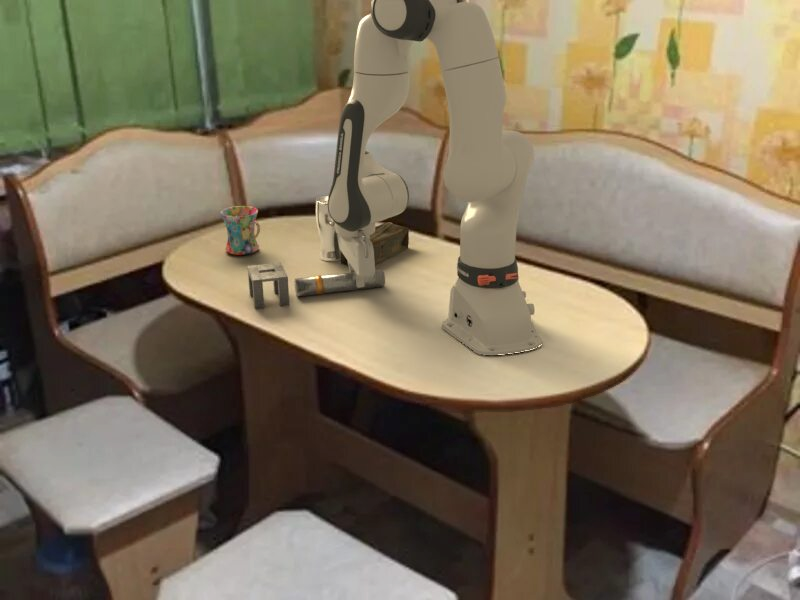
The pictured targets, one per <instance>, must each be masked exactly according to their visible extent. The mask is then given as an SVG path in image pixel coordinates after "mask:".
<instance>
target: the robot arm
mask: <svg viewBox="0 0 800 600" xmlns="http://www.w3.org/2000/svg"><path fill="white" fill-rule="evenodd" d="M424 40H428V41H429V42H430V43H432V44H433V46H434V48H435V50H436V53H437V56H438V63H439V67H440V71H441V77H442V81H443V86H444V93H445V96H446V102H447V106H448V107H447V108H448V117H449V136H448V137H449V139H448V141H449V142H448V145H449V146H448V156H447V159H446V162H445V164H444V168H443V173H442V175H443V183H444V185H445V188H446V190H447V191H448V193H449V194H450V195H451V196H452V197H453V198H454V199H456V200H458V201H460V202H463V203H467V206H466V207H465V208H466V209H465V211H464V213H463V214H462V218H461V221H460V237H459V238H460V239H459V240H460V241H459V243H460V245H459V256H458V258H457V263H456V271H457V272H456V273H457V274H456V275H457V280H456V282H455V283H454V284H453V286H452V287H451V289H450V295H449V305H448V317H447V319H445V320H444V321H442V322H441V328H442V329H443V330H444V331H445V332H446V333H448V335H451V336H452V337H453V338H455V339H456V340H458V342H460V343H461V342H462V343H461V344H463V345H464V344H465V345H466V346H465V345H464V346H465V347H467V346H468V347H469V348H470V349H469V348H468V347H467V348H468V349H469V350H471V349H472V350H473V351H472V350H471V351H472V352H474V353H475V352H476V353H478V354H483V355H482V356H485V354H486V355H498V354H508V353H515V352H521V351H525V350H530V349H533V348H536V347H538V346H539V345H541V344H542V345H543V339H542V338H541V336H540V334H539V332H538V330H537V328H536V327H535V325H534V323H533V322H532V317H531V316H533V315H535V305H534V303H532V302H531V303H527V300H526V297H527V292H526V291H523V290H522V288H521V284H520V283H519V266H518V262H517V261H518V260H517V258H516V244H517V243H516V242H517V229H518V228H517V227H518V219H519V215H520V210H521V206H522V201H523V197H524V195H525V194H524V192H525V188H526V184H527V180H528V175H529V172H530V171H531V168H532V166H533V164H534V160H535V150H534V147H533V144H532V142H531V141H530V139H529V138H528V137H527V136H526V135H525V134H524V133H521V131H517V130H510V129H509V130H508V129H507V130H506V129H505V130H504V129H503V127H504V126H503V125H504V124H503V123H504V122H503V121H504V113H505V112H504V111H505V106H506V104H507V93H506V87H505V83H504V81H505V80H504V78H503V72H502V67H501V62H500V57H499V52H498V48H497V44H496V40H495V37H494V34H493V30H492V27H491V25H490V22H489V20H488V16H487V15H486V12H485V10H484V9H483V8H482V7H481V6H480V5H479V4H476V3H474V2H468V1H463V0H371V4H370V13H369V14H367V15H365V16H364V17H362V18H361V19H360V21H359V23H358V26H357V30H356V36H355V44H354V51H353V52H354V55H353V82H352V87H351V92H350V95H349V98H348V100H347V103H346V104H345V105H344V107H343V109H342V111H341V114H340V119H339V125H338V133H337V142H336V151H335V159H334V167H333V168H334V169H333V178H332V183H331V186H330V190H329V193H328V196H329V197H328V211H329V214H330V217H331V218H332V220H333V221H334V223H335V229H336V233H337V237H338V244H339V248H340V250H341V252H342V253H343V255H344V256H345V257H346V259H347V260H348V265H347V266H348V270H349V273H350V272H355V273H356V278H355V284H356V286H357V287H358V288H360V287H364V285H365V284H364V280H365V277H372V276H374V274H375V270H376V266H375V265H376V264H375V261H374V249H373V245H372V242H371V241H370V240H369V239H370V235H371V234H373V233H374V232H375V227H376V223H379V222H383V221H385V220H387V219H389V218H392V217H397V216H398V215H400V214H403V213H404V212H405V210H406V209H407V207H408V205H409V201H410V192H409V187H408V185H407V182H406V181H405V179H404V178H403V177H402V176H401V175H400V174H398V173H396V172H394V171H393V172H392V171H390V170H388V169H386V168H385V167H383V166H382V165H380V164H379V163H378V162H377V161H376V160H375V158H374V157H373V155H372V153H371V152H368V151H367V150H366V148H367V144H368V141H369V139H370V137H371V135H372V134H373V133H374V132H375V130H377V128H379V126H381V124H383V123H385V121H386V120H389V119H390V118H391V117H392V116H394V115H395V114H397V113H398V112H399V111H400V109H402V107H403V106H404V105H405V103H406V101H407V98H408V95H409V89H410V51H411V47H412V45H413V43H414V42H419V43H420V42H421V43H422V42H423V41H424ZM476 353H475V354H476ZM478 354H477V355H478Z"/></svg>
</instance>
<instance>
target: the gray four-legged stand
mask: <svg viewBox="0 0 800 600" xmlns="http://www.w3.org/2000/svg"><path fill="white" fill-rule="evenodd" d="M247 276H248V277H247V278H248V279H247V280H248V290H249V292H248V293H249V296H250V297H253V307H254V310H259V309H265V297H264V296H265V295H264V284H263V283H265V282H273V284H272V285H273V292H274V294H278V304H279V306H280V307H285V306H290V293H289V276H288V274H287V272H286V270H285V269H284V266H283V263H282V262H273V263H272V262H271V263H265V264H263V263H262V264H254V265H247Z"/></svg>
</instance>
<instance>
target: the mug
mask: <svg viewBox="0 0 800 600" xmlns="http://www.w3.org/2000/svg"><path fill="white" fill-rule="evenodd" d="M258 213H259V210H258V208H256V207H254V206H249V205H239V206H238V205H237V206H236V205H235V206H231V207H230V206H229V207H226V208H224V209H222V210H221V211H220V213H219V214H220V216H221V218H222V220H223V221H224V224H225V227H226V232H227V240H226V241H227V242H226V246H225V252H226V253H228V254H231V255H236V256H244V255H250V254H253V253H255V252H257V251H258V250H259V248H260V244H259V243H258V241H257V237H258V236H259V235H260V231H261V226H260V224H259V222H258V221H257V220H256V219H257V216H258ZM255 225H256V227H257V228H256V229H257V230H256V233H255Z"/></svg>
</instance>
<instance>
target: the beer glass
mask: <svg viewBox="0 0 800 600" xmlns="http://www.w3.org/2000/svg"><path fill="white" fill-rule="evenodd" d="M328 197H329V195H322V196H319V197H317V198H316V199H315V221H316V222H315V223H316V227H317V233H318V237H319V241H320V248H319V249H320V252H319V259H320V260H322V261H324V262H337V261H341V250H340V248H339V244H338V237H337V233H336V229H335V223H334V221H333V220H332V218H331V217H330V214H329V211H328Z"/></svg>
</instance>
